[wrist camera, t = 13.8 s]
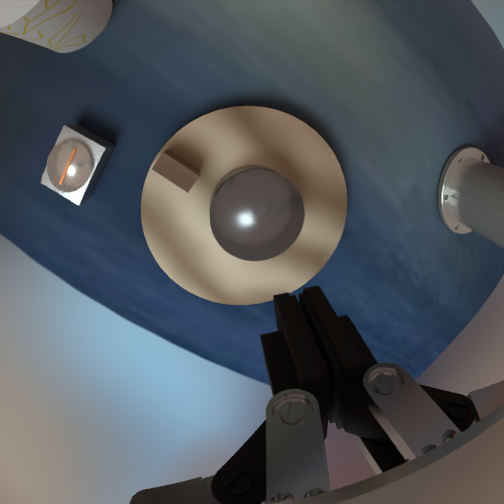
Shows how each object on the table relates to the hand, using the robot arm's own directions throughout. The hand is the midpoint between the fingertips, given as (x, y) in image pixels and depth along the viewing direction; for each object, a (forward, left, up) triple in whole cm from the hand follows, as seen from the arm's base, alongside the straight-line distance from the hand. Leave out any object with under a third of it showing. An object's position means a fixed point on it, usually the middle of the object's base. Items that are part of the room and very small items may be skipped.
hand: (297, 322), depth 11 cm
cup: (+13, -23, -21) cm, 34 cm away
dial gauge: (+15, -7, -20) cm, 26 cm away
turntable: (0, +2, -19) cm, 19 cm away
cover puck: (-1, +1, -18) cm, 18 cm away
